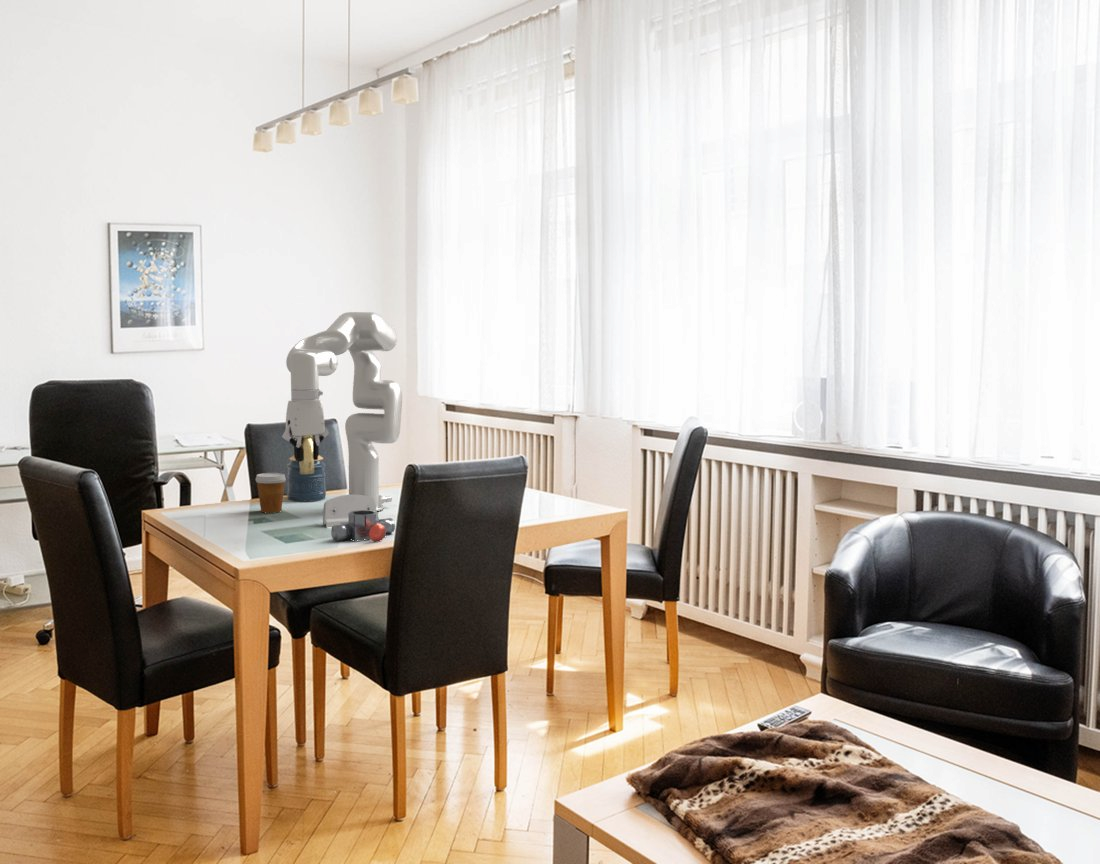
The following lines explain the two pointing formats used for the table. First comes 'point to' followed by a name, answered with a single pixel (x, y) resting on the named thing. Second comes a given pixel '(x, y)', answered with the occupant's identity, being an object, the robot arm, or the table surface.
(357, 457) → the robot arm
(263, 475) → the disposable coffee cup
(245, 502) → the table surface
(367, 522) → the valve body
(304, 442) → the brass cylinder
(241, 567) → the table surface
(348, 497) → the white slotted block
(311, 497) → the canister
